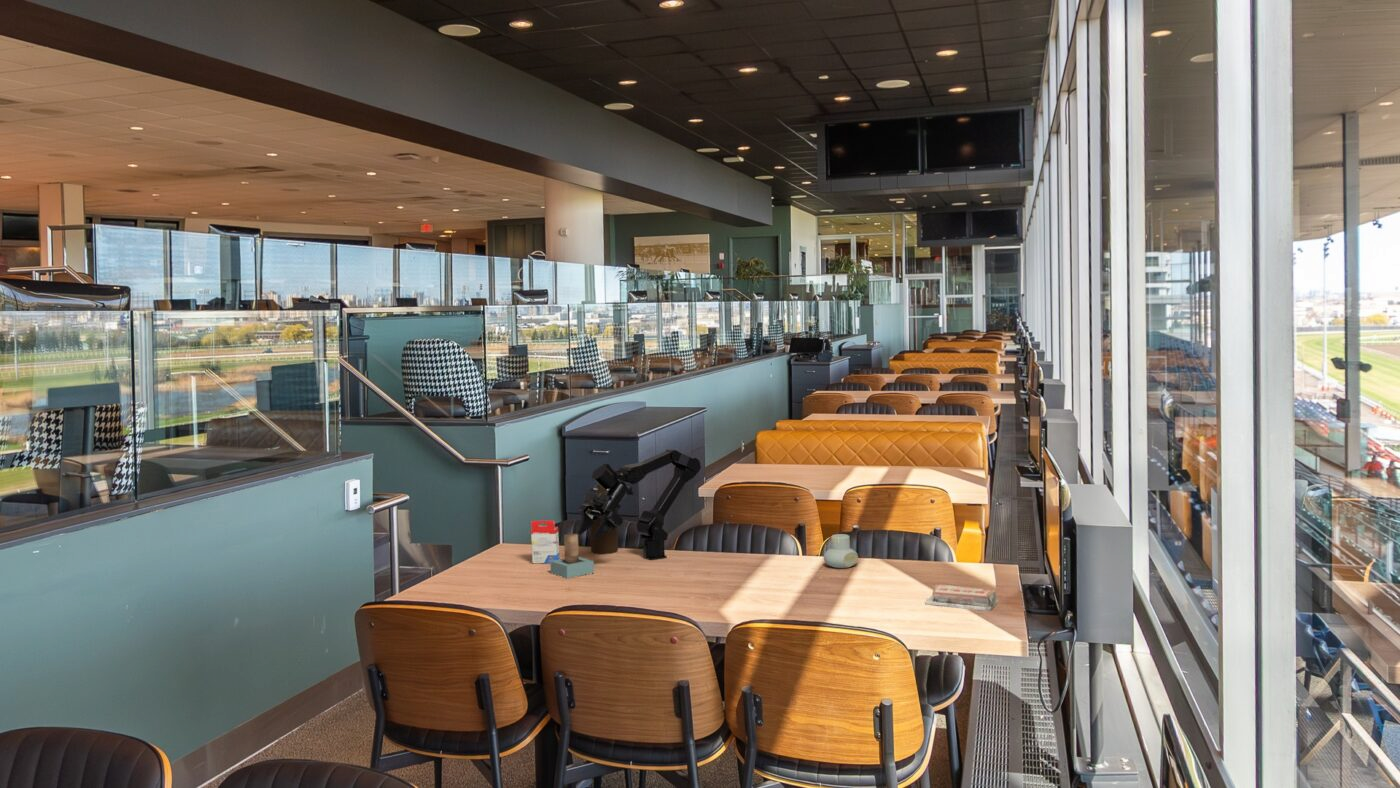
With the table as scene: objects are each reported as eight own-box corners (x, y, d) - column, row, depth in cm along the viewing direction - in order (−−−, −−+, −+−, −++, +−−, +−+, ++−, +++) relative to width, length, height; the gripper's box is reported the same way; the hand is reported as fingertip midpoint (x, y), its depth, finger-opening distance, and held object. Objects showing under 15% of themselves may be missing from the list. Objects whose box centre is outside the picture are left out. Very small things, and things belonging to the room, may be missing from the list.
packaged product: (998, 587, 293) (989, 595, 284) (999, 604, 293) (990, 613, 284) (934, 581, 302) (924, 589, 293) (934, 597, 302) (924, 606, 293)
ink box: (560, 560, 362) (558, 517, 362) (556, 563, 358) (555, 520, 357) (535, 560, 363) (533, 518, 362) (531, 564, 358) (530, 520, 358)
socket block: (577, 568, 350) (576, 556, 350) (593, 573, 342) (593, 561, 342) (550, 573, 344) (550, 561, 343) (567, 578, 336) (566, 566, 335)
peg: (580, 571, 345) (578, 533, 344) (578, 574, 341) (576, 536, 340) (566, 572, 345) (565, 533, 344) (564, 575, 341) (563, 536, 340)
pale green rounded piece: (839, 571, 335) (838, 540, 335) (819, 567, 341) (819, 536, 341) (862, 565, 342) (861, 534, 342) (842, 561, 349) (841, 531, 348)
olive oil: (625, 551, 374) (622, 480, 373) (599, 556, 368) (597, 484, 366) (609, 546, 383) (606, 477, 381) (583, 551, 376) (581, 481, 375)
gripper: (582, 480, 355) (555, 517, 349) (613, 485, 340) (586, 525, 334) (603, 500, 360) (577, 537, 354) (635, 506, 346) (608, 545, 340)
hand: (586, 536), depth 346 cm, fingers open, 9 cm apart
